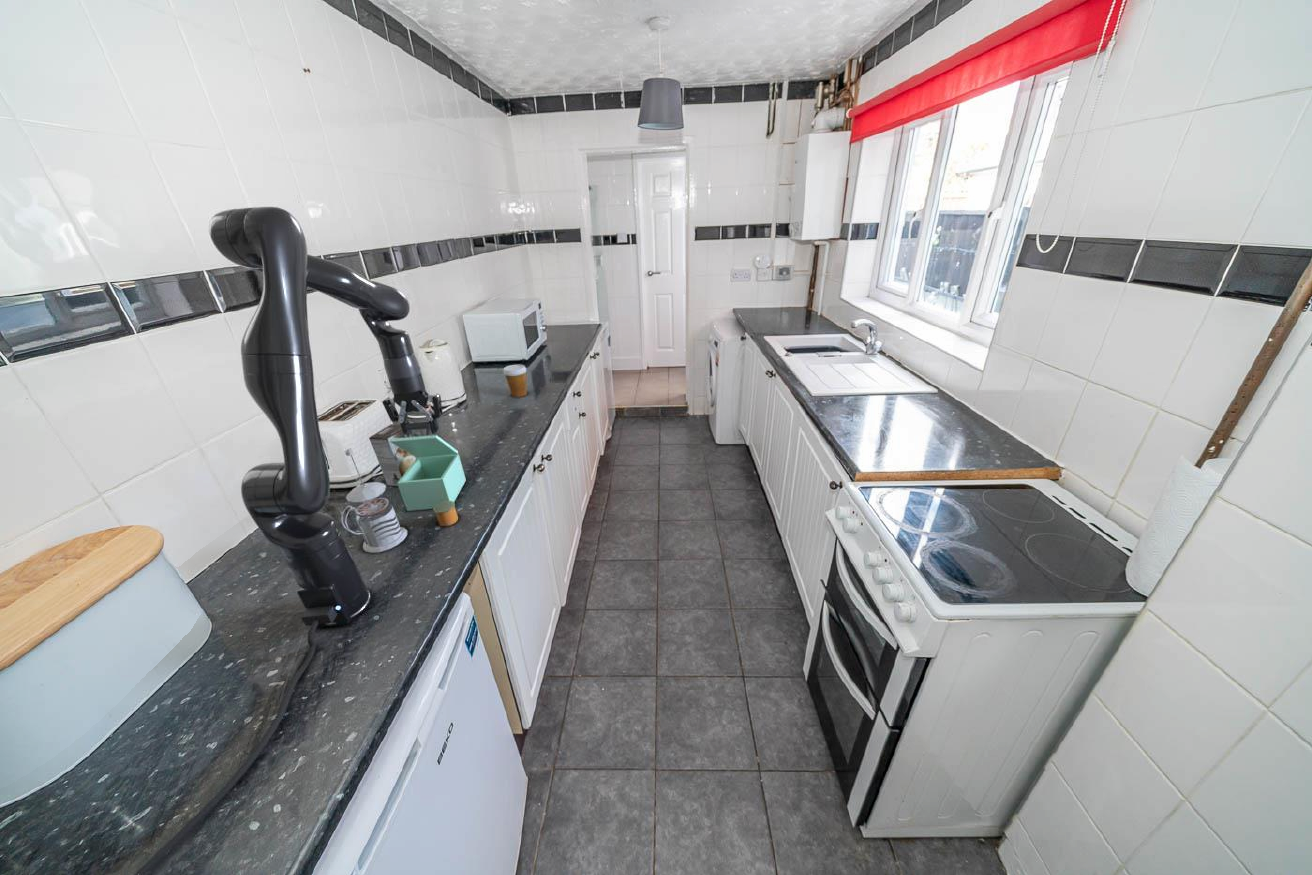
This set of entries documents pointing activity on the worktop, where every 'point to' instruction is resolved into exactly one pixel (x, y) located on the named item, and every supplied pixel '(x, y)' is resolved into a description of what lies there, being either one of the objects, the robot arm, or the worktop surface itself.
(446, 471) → the mint green open box
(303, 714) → the worktop surface
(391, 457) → the coffee box
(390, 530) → the french press
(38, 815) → the worktop surface
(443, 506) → the cylinder
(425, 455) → the lid
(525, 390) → the disposable coffee cup
